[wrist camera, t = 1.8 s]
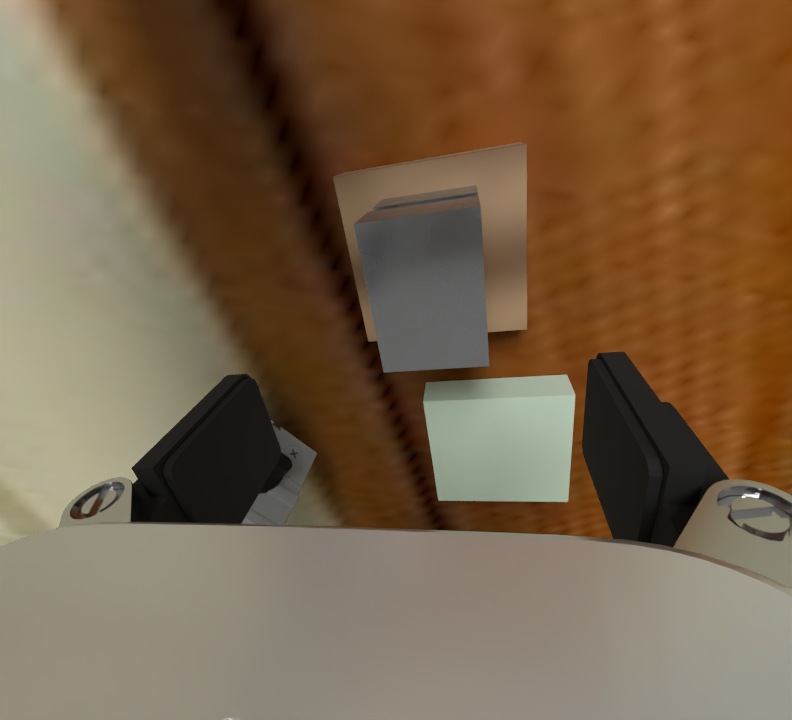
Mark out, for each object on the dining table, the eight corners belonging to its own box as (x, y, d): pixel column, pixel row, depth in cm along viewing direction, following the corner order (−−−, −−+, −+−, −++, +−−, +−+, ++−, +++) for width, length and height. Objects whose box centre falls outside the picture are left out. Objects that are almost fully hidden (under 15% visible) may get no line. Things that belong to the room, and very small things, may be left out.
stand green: (426, 382, 30) (423, 401, 28) (566, 374, 28) (575, 394, 26) (440, 477, 35) (438, 500, 33) (561, 477, 33) (567, 501, 31)
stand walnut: (344, 172, 24) (332, 176, 21) (520, 142, 21) (526, 143, 19) (375, 325, 28) (368, 341, 26) (521, 312, 26) (527, 329, 24)
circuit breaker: (343, 410, 33) (265, 592, 20) (258, 488, 39) (159, 663, 26) (268, 352, 31) (129, 511, 18) (193, 445, 38) (52, 609, 25)
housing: (382, 199, 22) (353, 224, 16) (476, 185, 21) (480, 206, 15) (402, 317, 25) (383, 372, 19) (483, 310, 24) (489, 366, 18)
